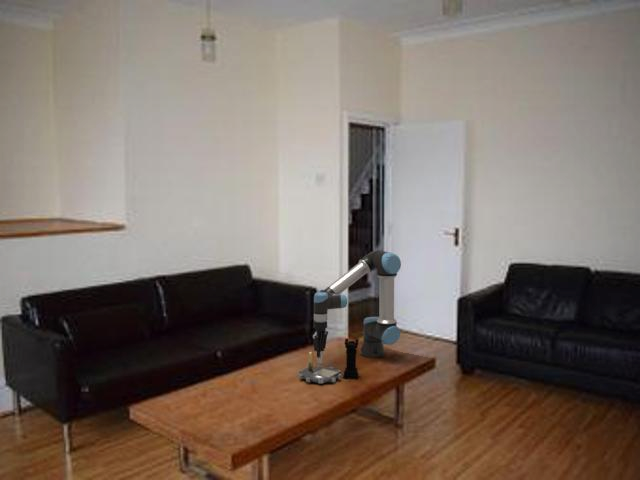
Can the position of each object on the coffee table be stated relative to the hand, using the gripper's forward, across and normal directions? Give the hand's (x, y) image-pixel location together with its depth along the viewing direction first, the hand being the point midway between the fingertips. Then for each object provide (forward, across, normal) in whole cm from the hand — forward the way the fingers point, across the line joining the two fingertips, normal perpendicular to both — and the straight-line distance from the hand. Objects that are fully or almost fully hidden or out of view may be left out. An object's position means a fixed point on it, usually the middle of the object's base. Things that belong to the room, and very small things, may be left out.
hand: (319, 362), depth 319 cm
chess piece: (+6, -4, +18) cm, 19 cm away
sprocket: (+4, +8, +6) cm, 11 cm away
